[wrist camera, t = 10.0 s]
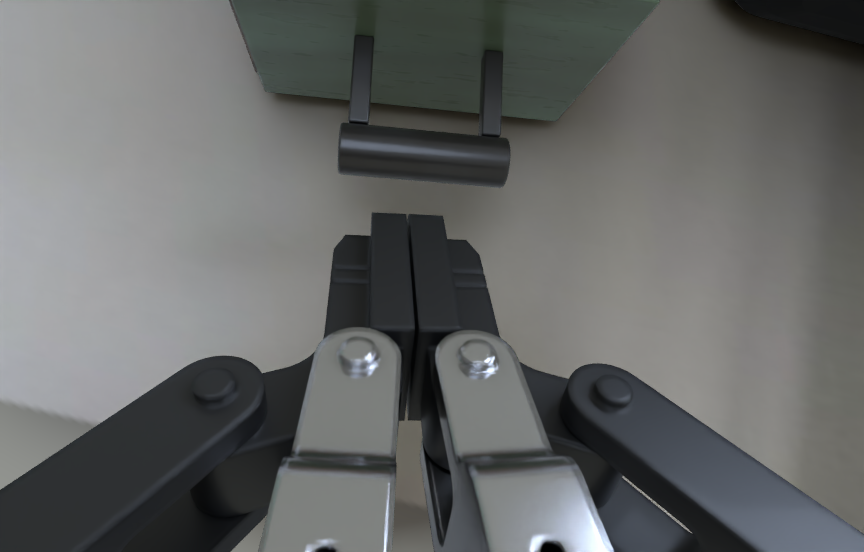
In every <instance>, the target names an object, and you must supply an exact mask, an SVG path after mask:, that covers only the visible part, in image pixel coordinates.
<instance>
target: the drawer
mask: <svg viewBox="0 0 864 552" xmlns="http://www.w3.org/2000/svg"><path fill="white" fill-rule="evenodd" d="M231 1H232V4H233V7H234V9H235V12H236V15H237V17H238V20H239V23H240V25H241V28H242V31H243V34H244V36H245V39H246V42H247V44H248V47H249V50H250V52H251V55H252V58H253V60H254V63H255V66H256V68H257V71H258V74H259V76H260V79H261V82H262V84H263V87H264V90H265V91H266V92H274V93H284V94H293V95H303V96H313V97H323V98H333V99H342V100H350V103H349V117H348V123H341V126H340V133H339V146H338V172H339V174H343V175H355V176H366V177H378V178H390V179H401V180H413V181H424V182H436V183H448V184H459V185H471V186H483V187H494V188H501V187H503V186H504V184H505V182H506V179H507V176H508V172H509V166H510V144H509V141H508V139H506V138H499V137H500V135H501V116H508V117H518V118H528V119H538V120H547V121H557V120H558V119H559V118H560V116H561V115H562V114H563V113H564V112H565V111H566V110H567V108H568V107H569V106H570V105H571V104H572V103H573V102H574V100H575V99H576V98H577V97H578V96H579V95H580V94H581V92H582V91H583V90H584V89H585V88H586V87H587V86H588V84H589V83H590V82H591V81H592V80H593V79H594V78H595V76H596V75H597V74H598V73H599V72H600V71H601V69H602V68H603V67H604V66H605V65H606V64H607V63H608V61H609V60H610V59H611V58H612V57H613V56H614V55H615V53H616V52H617V51H618V50H619V49H620V48H621V47H622V45H623V44H624V43H625V42H626V41H627V40H628V39H629V37H630V36H631V35H632V34H633V33H634V32H635V31H636V29H637V28H638V27H639V26H640V25H641V24H642V23H643V21H644V20H645V19H646V18H647V17H648V16H649V14H650V13H651V12H652V11H653V10H654V9H655V8H656V6H657V5H658V4H659V2H660V0H231ZM370 102H372V103H381V104H391V105H401V106H411V107H420V108H430V109H440V110H450V111H460V112H469V113H479V133H478V136H477V135H467V134H457V133H446V132H436V131H426V130H416V129H405V128H395V127H385V126H375V125H369V114H370Z"/></svg>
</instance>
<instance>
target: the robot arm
mask: <svg viewBox="0 0 864 552" xmlns="http://www.w3.org/2000/svg"><path fill="white" fill-rule="evenodd" d="M406 402H407V413H408V420H421V424H422V437H423V438H422V444H421V451H420V463H421V469H422V476H423V482H424V489H425V495H426V502H427V508H428V515H429V521H430V528H431V534H432V541H433V547H434V552H864V534H863V533H861V532H860V531H858V530H857V529H855V528H854V527H853V526H851V525H850V524H848V523H847V522H845V521H844V520H842V519H841V518H840V517H838V516H837V515H835V514H834V513H832V512H831V511H829V510H828V509H827V508H825V507H824V506H822V505H821V504H819V503H818V502H816V501H815V500H813V499H812V498H811V497H809V496H808V495H806V494H805V493H803V492H802V491H800V490H799V489H798V488H796V487H795V486H793V485H792V484H790V483H789V482H787V481H786V480H785V479H783V478H782V477H780V476H779V475H777V474H776V473H774V472H773V471H771V470H770V469H769V468H767V467H766V466H764V465H763V464H761V463H760V462H758V461H757V460H756V459H754V458H753V457H751V456H750V455H748V454H747V453H745V452H744V451H743V450H741V449H740V448H738V447H737V446H735V445H734V444H732V443H731V442H729V441H728V440H727V439H725V438H724V437H722V436H721V435H719V434H718V433H716V432H715V431H714V430H712V429H711V428H709V427H708V426H706V425H705V424H703V423H702V422H701V421H699V420H698V419H696V418H695V417H693V416H692V415H690V414H689V413H687V412H686V411H685V410H683V409H682V408H680V407H679V406H677V405H676V404H674V403H673V402H672V401H670V400H669V399H667V398H666V397H664V396H663V395H661V394H660V393H659V392H657V391H656V390H654V389H653V388H651V387H650V386H648V385H647V384H645V383H644V382H643V381H641V380H640V379H638V378H637V377H635V376H634V375H632V374H631V373H629V372H627V371H625V370H623V369H621V368H618V367H615V366H612V365H607V364H599V363H598V364H588V365H584V366H581V367H579V368H578V369H576V370H575V371H574V372H573V373H572V375H571V376H570V378H569V379H566V378H562V377H559V376H555V375H551V374H548V373H544V372H541V371H537V370H534V369H532V368H530V367H528V366H526V365H524V364H522V363H521V362H519V361H518V358H517V356H516V354H515V352H514V350H513V349H512V348H511V347H510V346H509V345H508V344H507V343H506V342H505V341H504V340H502V339H501V338H500V336H499V332H498V328H497V324H496V320H495V316H494V312H493V308H492V304H491V300H490V296H489V292H488V288H487V284H486V280H485V276H484V274H483V268H482V264H481V260H480V256H479V254H478V253H477V252H476V251H475V249H474V248H473V247H472V246H471V245H470V244H469V243H468V242H467V241H466V240H453V239H447V236H446V230H445V224H444V219H443V216H436V215H416V214H408V219H407V218H406V214H394V213H374V212H372V218H371V236H361V235H345V236H344V237H343V239H342V240H341V241H340V242H339V243H338V245H337V246H336V247H335V248H334V252H333V261H332V270H331V281H330V288H329V297H328V306H327V315H326V324H325V333H324V338H323V340H322V341H321V342H320V343H319V345H318V347H317V348H316V351H315V352H314V353H313V354H312V355H311V356H309V357H308V358H307V359H305V360H303V361H302V362H300V363H298V364H295V365H293V366H290V367H287V368H283V369H279V370H275V371H270V372H266V373H261V372H260V370H259V369H258V368H257V367H256V366H255V365H254V364H253V363H251V362H249V361H247V360H245V359H242V358H239V357H234V356H214V357H209V358H205V359H202V360H198V361H196V362H194V363H191V364H190V365H188V366H186V367H184V368H183V369H181V370H180V371H178V372H177V373H175V374H174V375H172V376H171V377H169V378H168V379H166V380H165V381H163V382H162V383H160V384H159V385H157V386H156V387H154V388H153V389H151V390H150V391H148V392H147V393H145V394H144V395H142V396H141V397H139V398H138V399H136V400H135V401H133V402H132V403H130V404H129V405H127V406H126V407H124V408H123V409H121V410H120V411H118V412H117V413H115V414H114V415H112V416H111V417H109V418H108V419H106V420H105V421H103V422H102V423H100V424H99V425H97V426H96V427H94V428H93V429H91V430H90V431H88V432H87V433H85V434H84V435H82V436H81V437H79V438H78V439H76V440H75V441H73V442H72V443H70V444H69V445H67V446H66V447H64V448H63V449H61V450H60V451H58V452H57V453H55V454H54V455H52V456H51V457H49V458H48V459H46V460H45V461H43V462H42V463H40V464H39V465H37V466H36V467H34V468H33V469H31V470H30V471H28V472H27V473H25V474H24V475H22V476H21V477H19V478H18V479H16V480H14V481H13V482H12V483H10V484H8V485H7V486H6V487H4V488H2V489H1V490H0V552H230V551H231V550H232V549H233V548H234V547H235V546H236V545H237V544H238V543H239V542H240V541H241V540H242V539H243V538H244V537H245V536H246V535H247V534H248V533H249V532H250V531H251V530H252V529H253V528H254V527H255V526H256V525H257V524H258V523H259V522H260V521H261V520H262V519H263V518H264V517H265V516H266V515H267V517H266V521H265V525H264V530H263V533H262V538H261V541H260V545H259V550H258V552H392V542H393V523H394V522H393V521H394V505H395V487H396V443H397V434H398V425H399V421H404V419H405V410H406ZM622 476H625V477H626V478H627V479H628V480H629V481H631V482H632V483H633V484H634V485H636V486H637V487H638V488H639V489H641V490H642V491H643V492H644V493H645V494H647V495H648V496H649V497H650V498H652V499H653V500H654V501H655V502H657V503H658V504H659V505H660V506H661V507H663V508H664V509H665V510H666V511H668V512H669V513H670V514H671V515H672V516H674V517H675V518H676V519H677V520H679V521H680V522H681V523H682V524H684V525H685V526H686V527H687V528H688V529H689V530H690V531H691V532H692V533H693V534H692V533H690V532H688V531H687V530H686V529H684V528H683V527H682V526H680V525H679V524H678V523H677V522H676V521H674V520H673V519H672V518H671V517H669V516H668V515H667V514H666V513H665V512H663V511H662V510H661V509H660V508H658V507H657V506H656V505H655V504H654V503H652V502H651V501H650V500H649V499H647V498H646V497H645V496H644V495H643V494H641V493H640V492H639V491H638V490H636V489H635V488H634V487H633V486H632V485H630V484H629V483H628V482H627V481H625V480H624V479H623V478H622Z"/></svg>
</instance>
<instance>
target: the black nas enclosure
mask: <svg viewBox="0 0 864 552" xmlns="http://www.w3.org/2000/svg"><path fill="white" fill-rule="evenodd" d="M735 1H736V2H737V4H738V5H739V6H740V7H741V8H743V9H744V10H745V11H746V12H748V13H750V14H752V15H755V16H758V17H762V18H766V19H770V20H773V21H777V22H781V23H785V24H788V25H792V26H796V27H800V28H803V29H807V30H811V31H815V32H818V33H822V34H826V35H830V36H834V37H837V38H841V39H845V40H849V41H852V42H856V43H860V44H864V0H735Z"/></svg>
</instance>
